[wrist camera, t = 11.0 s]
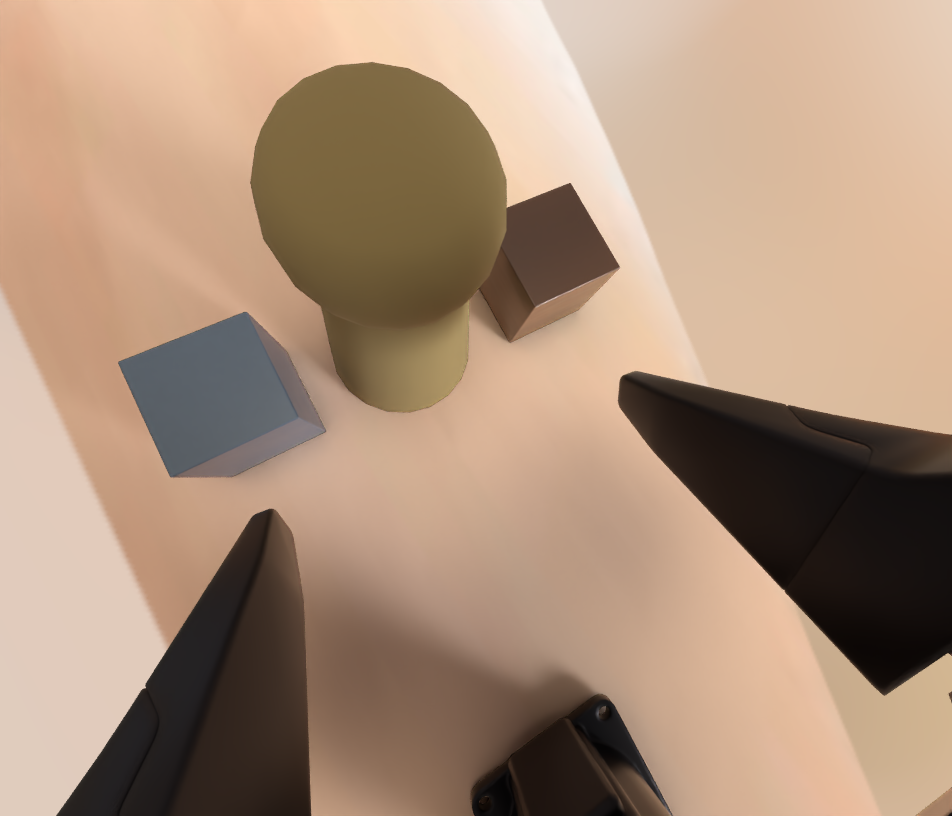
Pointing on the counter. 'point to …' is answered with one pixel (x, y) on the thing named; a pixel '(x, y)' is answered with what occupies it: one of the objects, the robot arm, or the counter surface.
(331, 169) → the cork
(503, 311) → the walnut block
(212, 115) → the counter surface
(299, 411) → the slate block
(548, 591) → the counter surface
